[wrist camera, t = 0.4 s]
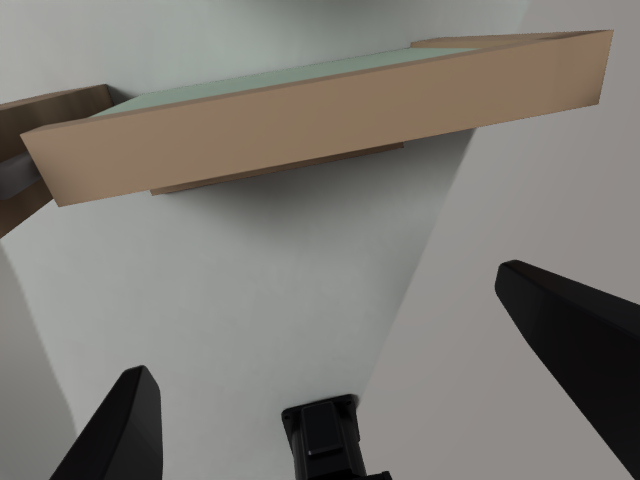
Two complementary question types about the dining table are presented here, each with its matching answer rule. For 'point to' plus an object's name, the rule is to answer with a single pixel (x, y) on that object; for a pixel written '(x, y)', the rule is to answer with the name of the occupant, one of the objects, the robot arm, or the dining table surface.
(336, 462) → the robot arm
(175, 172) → the board
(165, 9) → the dining table surface
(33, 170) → the gate frame
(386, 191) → the dining table surface
